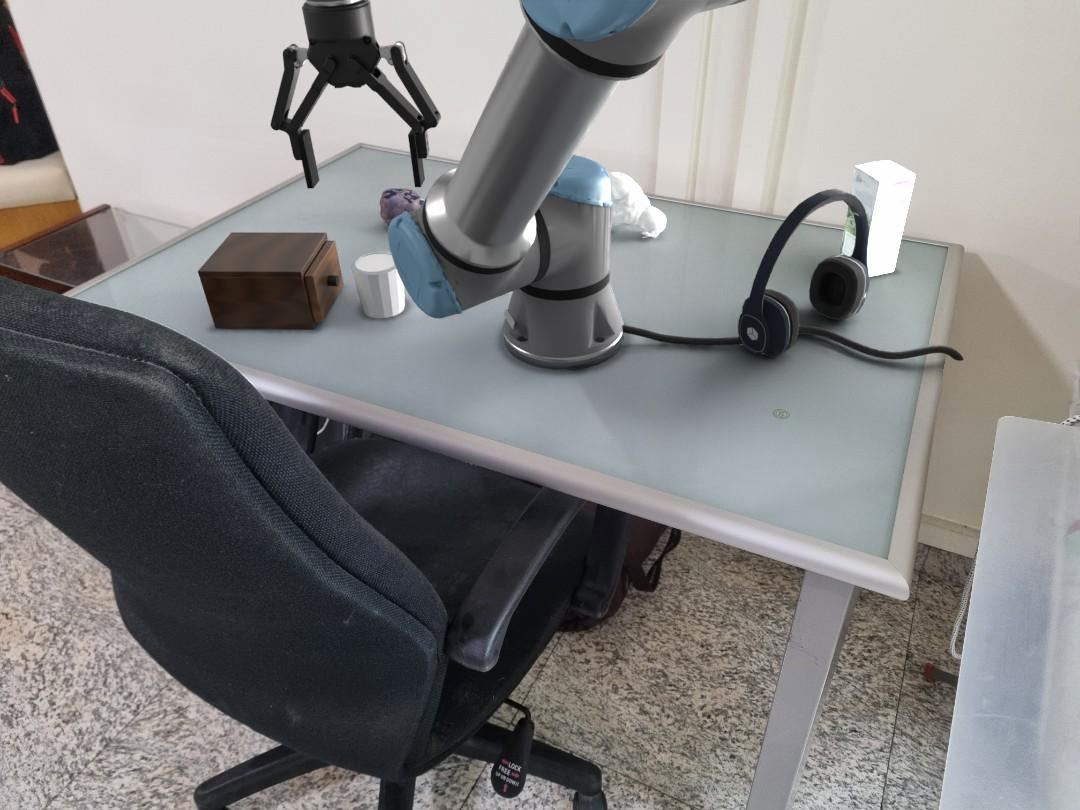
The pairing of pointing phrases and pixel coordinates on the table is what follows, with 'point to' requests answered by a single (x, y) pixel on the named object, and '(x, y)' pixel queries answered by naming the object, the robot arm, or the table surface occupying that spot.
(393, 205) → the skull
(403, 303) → the shot glass
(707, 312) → the table surface
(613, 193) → the white figurine
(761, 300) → the headphones
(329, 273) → the drawer
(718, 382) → the table surface
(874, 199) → the syrup box
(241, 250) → the cabinet
